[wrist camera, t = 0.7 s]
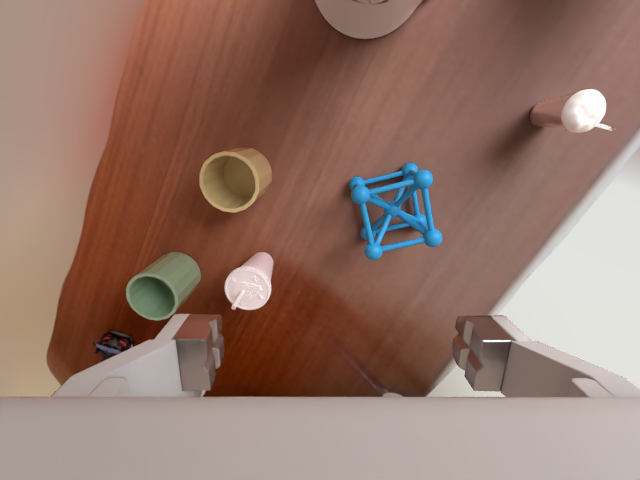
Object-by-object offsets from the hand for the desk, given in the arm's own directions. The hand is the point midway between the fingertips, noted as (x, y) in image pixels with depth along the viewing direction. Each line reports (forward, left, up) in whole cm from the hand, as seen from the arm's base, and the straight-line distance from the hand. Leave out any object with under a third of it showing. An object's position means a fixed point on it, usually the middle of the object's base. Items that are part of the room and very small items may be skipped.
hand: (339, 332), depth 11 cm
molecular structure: (+3, +8, -40) cm, 41 cm away
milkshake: (-11, +27, -40) cm, 49 cm away
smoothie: (+16, -11, -40) cm, 44 cm away
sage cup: (+19, -25, -40) cm, 50 cm away
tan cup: (+1, -14, -40) cm, 42 cm away
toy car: (+38, -37, -40) cm, 67 cm away
